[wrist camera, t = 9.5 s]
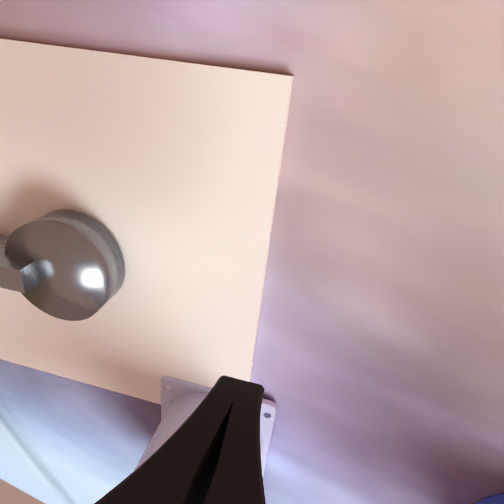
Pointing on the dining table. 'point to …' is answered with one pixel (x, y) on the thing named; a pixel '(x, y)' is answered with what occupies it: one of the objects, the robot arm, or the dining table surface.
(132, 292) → the base
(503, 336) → the dining table surface
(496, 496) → the water bottle
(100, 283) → the twist lock
